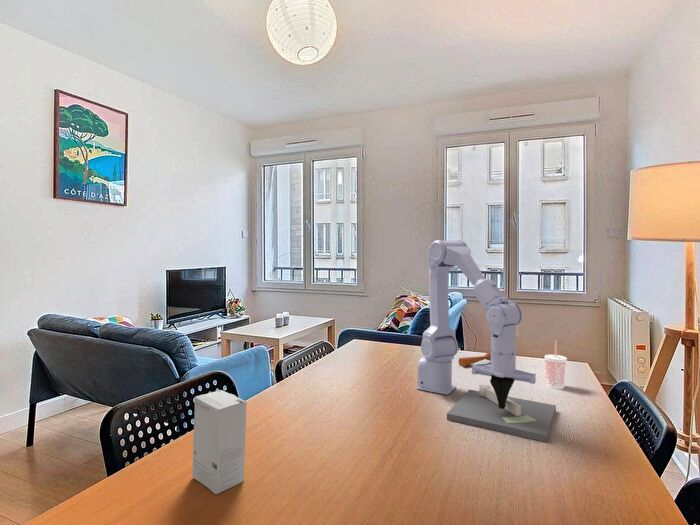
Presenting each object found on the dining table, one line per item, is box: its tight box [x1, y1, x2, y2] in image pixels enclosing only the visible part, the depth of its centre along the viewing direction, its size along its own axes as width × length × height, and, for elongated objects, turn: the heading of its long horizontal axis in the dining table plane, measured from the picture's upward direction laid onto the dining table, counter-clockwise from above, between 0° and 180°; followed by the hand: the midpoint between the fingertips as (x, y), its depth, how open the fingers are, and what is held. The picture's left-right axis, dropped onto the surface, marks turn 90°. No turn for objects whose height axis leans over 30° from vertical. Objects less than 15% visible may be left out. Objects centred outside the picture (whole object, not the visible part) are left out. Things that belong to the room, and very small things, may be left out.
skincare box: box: [191, 389, 248, 495], centre depth 73 cm, size 8×6×15 cm
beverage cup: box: [544, 339, 568, 390], centre depth 123 cm, size 6×6×14 cm
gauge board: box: [446, 389, 557, 443], centre depth 102 cm, size 22×20×2 cm
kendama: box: [458, 349, 491, 368], centre depth 148 cm, size 6×6×20 cm
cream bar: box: [478, 384, 521, 416], centre depth 105 cm, size 16×3×2 cm, turn 14°
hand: (502, 407), depth 100 cm, fingers closed
